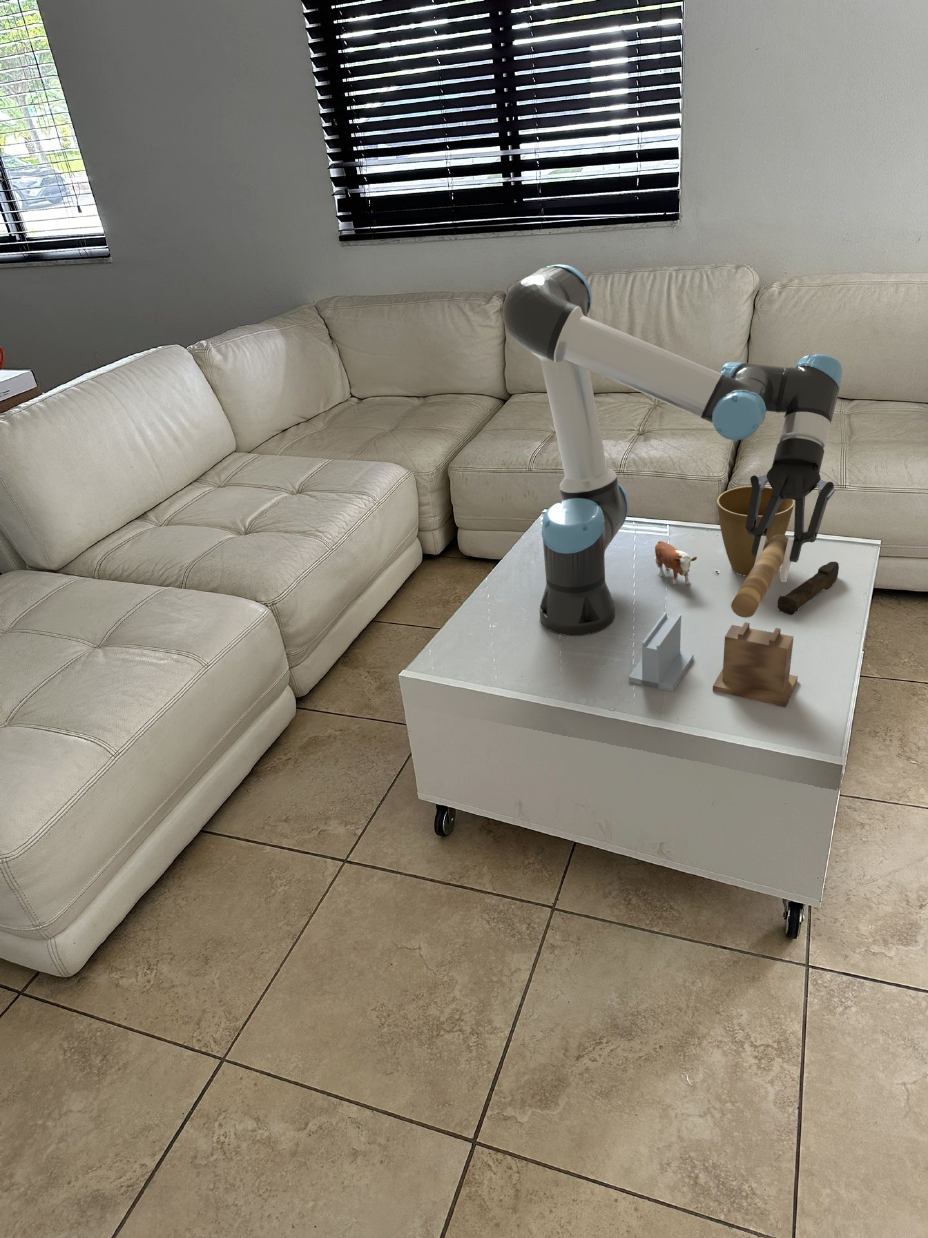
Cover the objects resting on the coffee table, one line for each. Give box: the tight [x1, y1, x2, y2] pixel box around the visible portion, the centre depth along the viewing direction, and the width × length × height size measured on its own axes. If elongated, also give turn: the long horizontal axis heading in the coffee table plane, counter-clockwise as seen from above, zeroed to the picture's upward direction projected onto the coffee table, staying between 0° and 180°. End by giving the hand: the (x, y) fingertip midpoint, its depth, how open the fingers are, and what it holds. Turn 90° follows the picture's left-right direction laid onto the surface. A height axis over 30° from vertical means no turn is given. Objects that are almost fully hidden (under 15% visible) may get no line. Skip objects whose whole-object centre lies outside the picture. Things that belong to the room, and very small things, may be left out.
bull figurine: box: [654, 540, 698, 586], centre depth 171 cm, size 4×13×8 cm, turn 16°
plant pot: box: [716, 485, 795, 577], centre depth 169 cm, size 15×15×16 cm
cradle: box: [628, 611, 695, 693], centre depth 143 cm, size 8×11×9 cm
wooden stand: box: [712, 621, 798, 708], centre depth 136 cm, size 12×8×11 cm, turn 58°
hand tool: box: [776, 561, 840, 616], centre depth 160 cm, size 19×4×5 cm, turn 127°
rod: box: [730, 535, 790, 618], centre depth 128 cm, size 22×4×4 cm, turn 148°
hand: (769, 577), depth 133 cm, fingers closed on rod, 3 cm apart
